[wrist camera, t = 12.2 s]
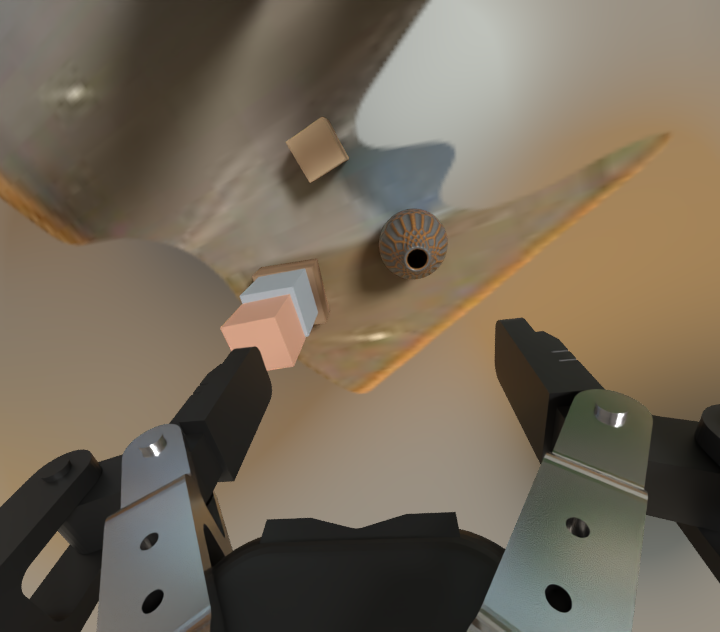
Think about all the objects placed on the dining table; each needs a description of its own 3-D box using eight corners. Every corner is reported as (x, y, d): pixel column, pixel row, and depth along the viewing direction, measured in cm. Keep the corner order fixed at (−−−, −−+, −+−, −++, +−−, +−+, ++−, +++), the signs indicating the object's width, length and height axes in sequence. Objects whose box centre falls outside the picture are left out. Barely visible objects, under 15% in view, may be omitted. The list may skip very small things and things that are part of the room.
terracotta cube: (242, 303, 33) (220, 327, 28) (289, 293, 32) (274, 316, 27) (260, 346, 35) (242, 374, 30) (305, 338, 34) (293, 366, 29)
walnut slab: (262, 266, 40) (251, 276, 37) (317, 257, 39) (311, 267, 36) (278, 317, 43) (270, 330, 40) (330, 310, 42) (325, 322, 39)
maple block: (295, 142, 34) (285, 142, 30) (328, 119, 33) (322, 116, 29) (317, 179, 35) (309, 183, 32) (349, 158, 34) (345, 159, 31)
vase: (383, 269, 39) (384, 299, 31) (375, 209, 36) (372, 226, 28) (443, 260, 38) (458, 289, 30) (439, 199, 35) (455, 213, 27)
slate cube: (258, 276, 37) (239, 296, 32) (305, 268, 36) (292, 286, 31) (274, 319, 40) (258, 343, 35) (318, 312, 39) (308, 336, 34)
